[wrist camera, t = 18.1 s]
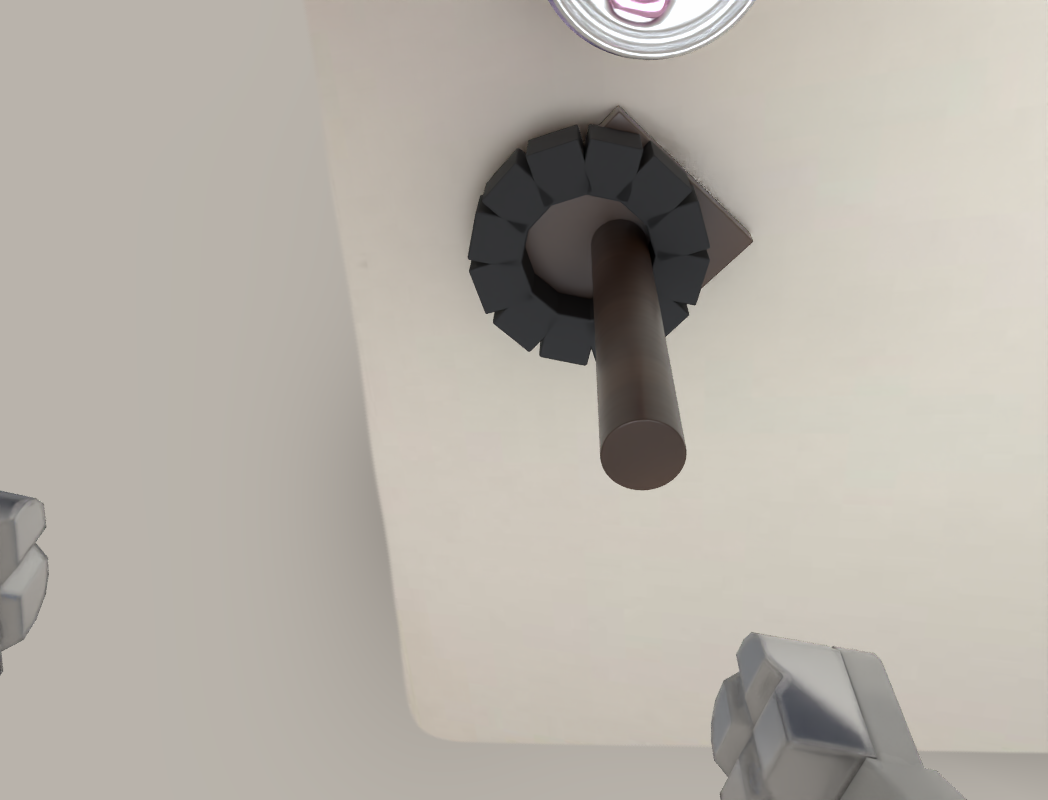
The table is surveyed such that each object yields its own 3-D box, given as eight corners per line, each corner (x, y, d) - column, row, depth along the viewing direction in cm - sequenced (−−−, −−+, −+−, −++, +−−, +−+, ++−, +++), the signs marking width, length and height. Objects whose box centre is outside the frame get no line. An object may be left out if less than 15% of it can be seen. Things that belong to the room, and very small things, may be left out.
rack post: (488, 241, 41) (442, 459, 27) (618, 104, 38) (646, 267, 24) (618, 353, 44) (640, 607, 29) (750, 233, 41) (849, 452, 26)
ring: (429, 247, 41) (421, 267, 39) (581, 74, 37) (582, 87, 35) (592, 379, 44) (593, 404, 42) (749, 232, 40) (758, 252, 38)
